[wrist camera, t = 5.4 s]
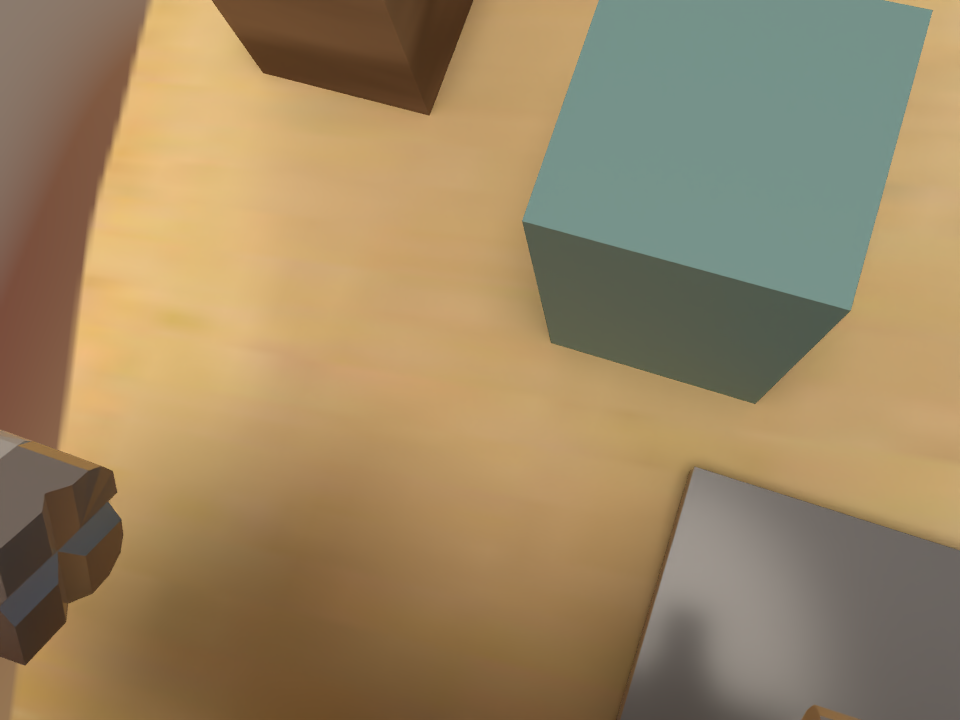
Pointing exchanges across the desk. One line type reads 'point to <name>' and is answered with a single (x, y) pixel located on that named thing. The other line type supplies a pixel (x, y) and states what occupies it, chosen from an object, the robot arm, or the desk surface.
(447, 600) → the desk surface
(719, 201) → the teal block
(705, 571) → the charcoal tile
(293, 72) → the walnut block
